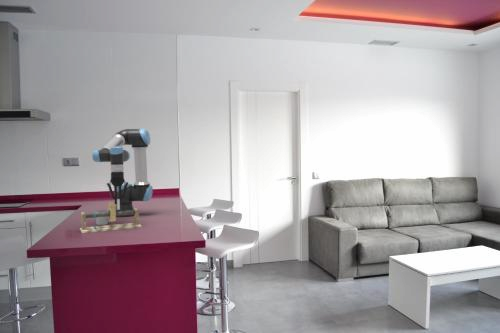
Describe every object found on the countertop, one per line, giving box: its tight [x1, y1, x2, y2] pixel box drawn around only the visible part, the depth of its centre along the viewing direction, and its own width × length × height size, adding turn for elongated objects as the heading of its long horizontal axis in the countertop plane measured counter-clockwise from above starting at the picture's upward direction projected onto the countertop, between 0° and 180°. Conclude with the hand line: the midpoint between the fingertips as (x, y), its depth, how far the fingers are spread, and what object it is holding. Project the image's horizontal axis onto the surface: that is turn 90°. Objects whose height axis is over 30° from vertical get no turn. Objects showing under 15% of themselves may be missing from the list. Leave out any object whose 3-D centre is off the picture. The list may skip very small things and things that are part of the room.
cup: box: [95, 209, 111, 226], centre depth 252 cm, size 7×10×9 cm
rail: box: [79, 208, 142, 234], centre depth 235 cm, size 34×12×11 cm, turn 119°
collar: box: [107, 201, 117, 222], centre depth 236 cm, size 3×8×11 cm, turn 29°
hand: (118, 209), depth 237 cm, fingers closed
